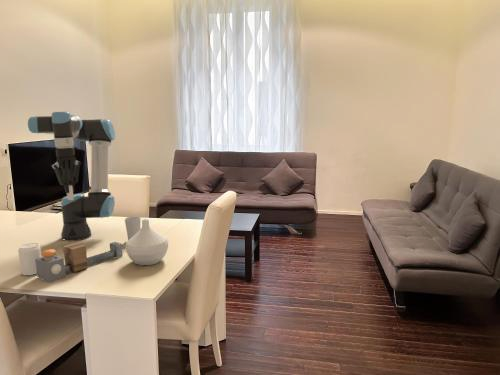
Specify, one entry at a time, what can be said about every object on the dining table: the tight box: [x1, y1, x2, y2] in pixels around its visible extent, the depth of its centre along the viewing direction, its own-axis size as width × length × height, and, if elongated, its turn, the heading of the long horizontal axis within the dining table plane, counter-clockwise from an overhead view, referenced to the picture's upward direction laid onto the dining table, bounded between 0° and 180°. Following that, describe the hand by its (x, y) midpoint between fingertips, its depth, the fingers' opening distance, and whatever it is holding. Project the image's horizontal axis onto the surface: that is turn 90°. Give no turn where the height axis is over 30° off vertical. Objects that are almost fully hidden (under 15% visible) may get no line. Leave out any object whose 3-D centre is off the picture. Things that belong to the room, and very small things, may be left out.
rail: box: [64, 241, 123, 275], centre depth 181 cm, size 5×29×6 cm, turn 143°
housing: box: [35, 254, 66, 283], centre depth 167 cm, size 9×7×8 cm
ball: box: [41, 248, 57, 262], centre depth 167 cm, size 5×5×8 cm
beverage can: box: [17, 242, 42, 276], centre depth 172 cm, size 8×8×12 cm
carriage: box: [62, 242, 89, 273], centre depth 176 cm, size 7×6×10 cm
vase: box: [124, 218, 169, 266], centre depth 182 cm, size 18×18×19 cm
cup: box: [124, 216, 142, 241], centre depth 215 cm, size 8×8×12 cm
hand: (70, 199), depth 186 cm, fingers closed
